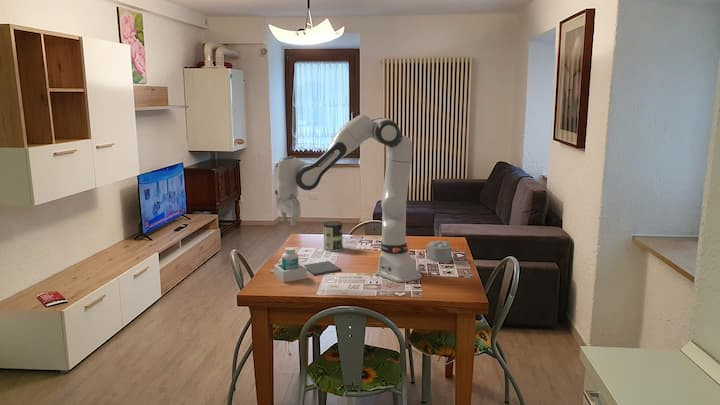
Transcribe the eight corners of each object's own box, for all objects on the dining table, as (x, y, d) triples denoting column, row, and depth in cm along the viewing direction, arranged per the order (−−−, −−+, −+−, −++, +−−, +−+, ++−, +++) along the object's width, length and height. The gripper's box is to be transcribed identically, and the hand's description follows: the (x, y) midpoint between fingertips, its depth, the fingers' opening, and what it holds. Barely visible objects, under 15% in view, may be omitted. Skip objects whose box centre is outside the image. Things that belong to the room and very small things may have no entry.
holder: (307, 278, 253) (306, 267, 252) (283, 282, 248) (283, 271, 247) (297, 271, 263) (297, 261, 262) (274, 275, 257) (274, 264, 256)
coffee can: (343, 246, 304) (342, 221, 301) (342, 251, 294) (342, 225, 291) (324, 246, 304) (323, 221, 302) (322, 251, 294) (322, 225, 291)
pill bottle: (285, 280, 250) (284, 251, 248) (280, 275, 257) (279, 247, 254) (301, 277, 254) (300, 249, 251) (295, 273, 260) (294, 245, 257)
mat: (341, 270, 263) (341, 268, 263) (314, 275, 257) (314, 273, 256) (328, 262, 275) (328, 260, 275) (302, 267, 269) (302, 265, 268)
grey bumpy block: (440, 254, 289) (440, 238, 287) (456, 260, 278) (457, 244, 276) (424, 257, 284) (424, 240, 282) (440, 264, 273) (440, 247, 271)
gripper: (303, 196, 240) (304, 227, 243) (286, 188, 258) (287, 217, 260) (290, 197, 237) (291, 229, 240) (273, 190, 255) (274, 219, 257)
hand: (288, 223), depth 250 cm, fingers open, 8 cm apart
